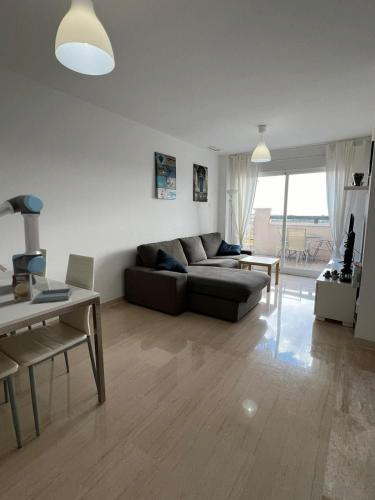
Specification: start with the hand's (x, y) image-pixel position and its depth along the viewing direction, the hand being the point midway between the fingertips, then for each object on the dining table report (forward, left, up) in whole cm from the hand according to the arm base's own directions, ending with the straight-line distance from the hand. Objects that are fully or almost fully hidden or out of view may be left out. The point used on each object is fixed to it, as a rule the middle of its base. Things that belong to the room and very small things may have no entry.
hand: (1, 273), depth 150 cm
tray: (+1, +27, -17) cm, 32 cm away
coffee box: (0, +10, -18) cm, 20 cm away
